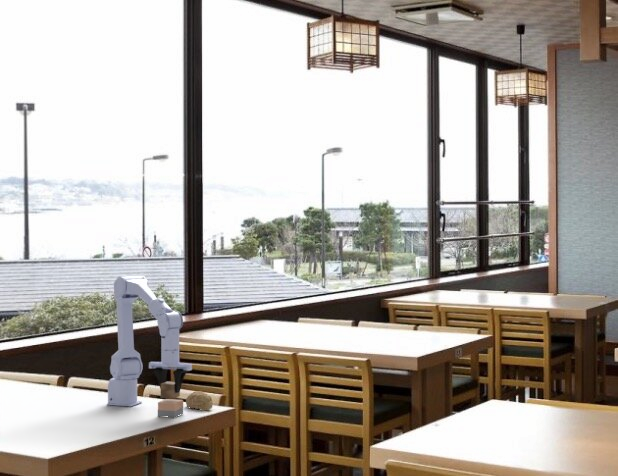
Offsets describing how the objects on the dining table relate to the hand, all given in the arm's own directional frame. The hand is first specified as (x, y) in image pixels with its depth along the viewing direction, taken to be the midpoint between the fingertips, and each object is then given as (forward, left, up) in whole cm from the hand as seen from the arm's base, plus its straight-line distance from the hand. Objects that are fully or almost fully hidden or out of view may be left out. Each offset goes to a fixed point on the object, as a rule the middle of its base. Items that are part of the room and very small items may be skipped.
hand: (170, 391), depth 306 cm
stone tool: (+4, +14, -8) cm, 17 cm away
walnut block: (0, 0, -2) cm, 2 cm away
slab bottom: (0, 0, -8) cm, 8 cm away
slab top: (0, 0, -6) cm, 6 cm away
